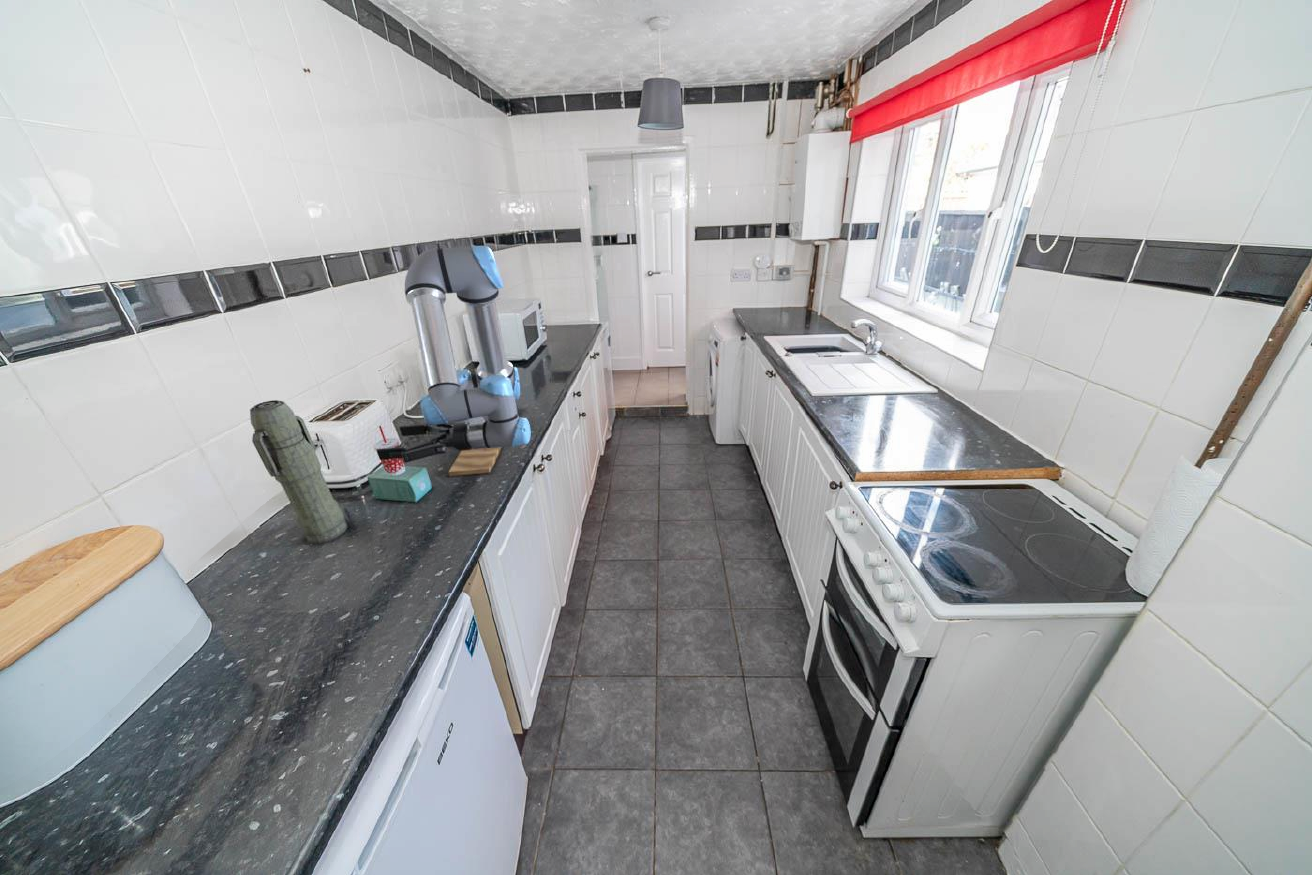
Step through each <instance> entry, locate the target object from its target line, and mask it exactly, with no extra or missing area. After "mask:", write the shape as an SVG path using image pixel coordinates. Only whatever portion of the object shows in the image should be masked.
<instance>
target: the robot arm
mask: <svg viewBox="0 0 1312 875" xmlns="http://www.w3.org/2000/svg"><path fill="white" fill-rule="evenodd" d="M503 287H504V285H503V281H502V278H501V275H500V271H499V269H498V265H497V263H496V260H495V256H494V253H493V251H492V249H491V248H490V247H489V246H487V245H474V244H472V245H468V246H455V247H453V246H452V247H443V248H442V247H441V248H429V249H426V250H424V251H422V252H421V253H420V254H418V255H417V256H416V257H415V259H414V260H413V261H412V262H411V264H410V266H409V267H408V270H407V273H406V276H405V280H404V296H405V299H406V303H407V304H409V305H410V306H411V308H412V313H413V319H414V324H415V331H416V335H417V340H418V346H419V350H420V356H421V362H422V367H423V372H424V377H425V383H426V389H427V393H428V394H426V395H424V396H421V397H420V400H419V403H420V405H419V406H420V410H421V413H422V417H423V420H424V421H425V422H426V423H424V424H414V425H400V426H399V431H400V434H401V436H402V437H408V436H422V435H423V436H424V435H428V436H429V435H433V436H432V437H429V438H428V440H425V441H422V442H420V443H417V444H414V445H411V446H408V447H405V446H399V447H398V448H386V449H377V450H375V451H376V453H377V456H378V459H379V460H380V461H381V460H384V459H396V458H403V462H404V464H406V463H411V462H414V461H418V460H421V459H424V458H428V457H429V458H430V457H432V456H436V455H442V454H447V448H450V447H451V448H452V447H453V448H454V449H455V450H456V451H457V452H458V451H460V452H461V451H462V450H471V449H472V448H473V449H487V448H497V447H502V448H510V447H512V448H514V447H520V446H525V445H528V444H529V443H530V441H531V437H532V436H531V435H532V434H531V432H532V431H531V425H530V423H529V420H528V419H529V418H528V419H527V418H526V417H521V416H519V413H518V409H517V408H518V407H517V402H516V401H517V400H519V399H520V396H521V383H520V374H519V370H518V367H516V366H513V364H512V362H510V361H509V360H507V355H506V348H505V343H504V339H503V334H502V330H501V324H500V319H499V313H498V308H497V304H496V300H497V299H498V297H499V295H500V290H501V289H502V288H503ZM446 294H456V298H457V299H458V300H459V301H460V302H462V303H463V304H464V307H465V310H466V315H467V319H468V323H469V327H470V332H471V335H472V338H473V344H474V347H475V351H476V355H477V359H478V363H479V364H478V365H477V367H476V372H471V371H470V369H467V368H463V369H462V368H459V369H457V366H456V361H455V356H454V351H453V346H452V342H451V336H450V331H449V327H448V321H447V316H446V312H445V306H444V304H445V302H447V296H446ZM484 417H487V418H488V420H485V418H484Z"/></svg>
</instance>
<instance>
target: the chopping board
mask: <svg viewBox="0 0 1312 875" xmlns="http://www.w3.org/2000/svg"><path fill="white" fill-rule="evenodd" d="M502 448H503V447H497V448H487V449H473V448H472V449H471V450H462V451H460V452H459V455H458V456H457V458H456V459H455V460H454V462H453V464H452V465H451V467H450V469H448V470H449V471H448V475H449V477H456V476H467V475H480V474H490V473H491V471H492V469H493V467H494V465H495V463H496V460H497V458H498V456H499V455H500V452H501V450H502Z"/></svg>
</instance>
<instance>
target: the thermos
mask: <svg viewBox="0 0 1312 875" xmlns="http://www.w3.org/2000/svg"><path fill="white" fill-rule="evenodd" d="M249 414H250V424H251V425H252V428H253V430H254V431H253V434H252V439H251V442H252V444H253V446H254V448H255V450H256V452H257V453H258V456H259V457H260V460H261V461H262V463H263V465H264V467H265V469H266V471H267V472H268V474H269V476H270V477H274V480H275V481H276V482H278V483H279V484H280V485H281V487H282V489H283V492H284V493H285V495H286V497H287V499H288V501H289V503H290V505H291V507H292V510H293V511H294V513H295V521H296V523H297V525H298V527H299V529H300V532H301V533H302V534H303V535H304V536H305V538H306V541H307V542H308V543H310V544H315V545H316V544H322V543H323V544H324V543H326V542H330V541H332V540H334V539H336V538H338V537H339V536H341V535H342V534H344V533H345V532H346V531H347V528H348V523H347V521H346V520H345V515H344V513H343V510H342V509H341V506H340V504H339V502H337V501H336V500H335V499H334V497H333V495H332V493H331V491H330V489H329V486H328V483H327V482H326V480H325V477H324V475H323V473H322V470H321V469H322V464H321V462H320V460H319V459H318V456H317V454H316V450H317V448H316V445H315V443H314V441H313V439H312V437H311V435H310V432H309V430H308V428H307V425H306V423H305V421H304V419H303V418H302V417H300V416H299V415H295V413H294V411H293V410H292V408H291V407H290V406H289V405H288V404H287V403H286V402H285V401H283V400H277V399H275V400H267V401H263V402H260V403H257V404H255V405H253V407H251V408H250V409H249Z"/></svg>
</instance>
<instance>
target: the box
mask: <svg viewBox="0 0 1312 875" xmlns="http://www.w3.org/2000/svg"><path fill="white" fill-rule="evenodd" d="M404 466H405V469H406V470H405V472H403V473H402V474H400V475H397V476H388V475H387V473H386V471H385V469H384V466H383V465H382V467H380V468H378V469H377V470H375V471H373V472H372V473H370V474H369V475H368V476H367V478H366V479H367V481H368V483H369V486H370V488H371V492H372V494H373V498H374V499H376V500H387V501H395V502H397V501H398V502H408V503H409V502H410V503H417V502H418V501H420V500H421V499H422V498H423V497H424V496H425V495H426V494H427V493H429V491H431V490H432V482H431V478H430V475H429V472H428V470H427V468H426V467H422V466H407V465H404Z"/></svg>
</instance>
